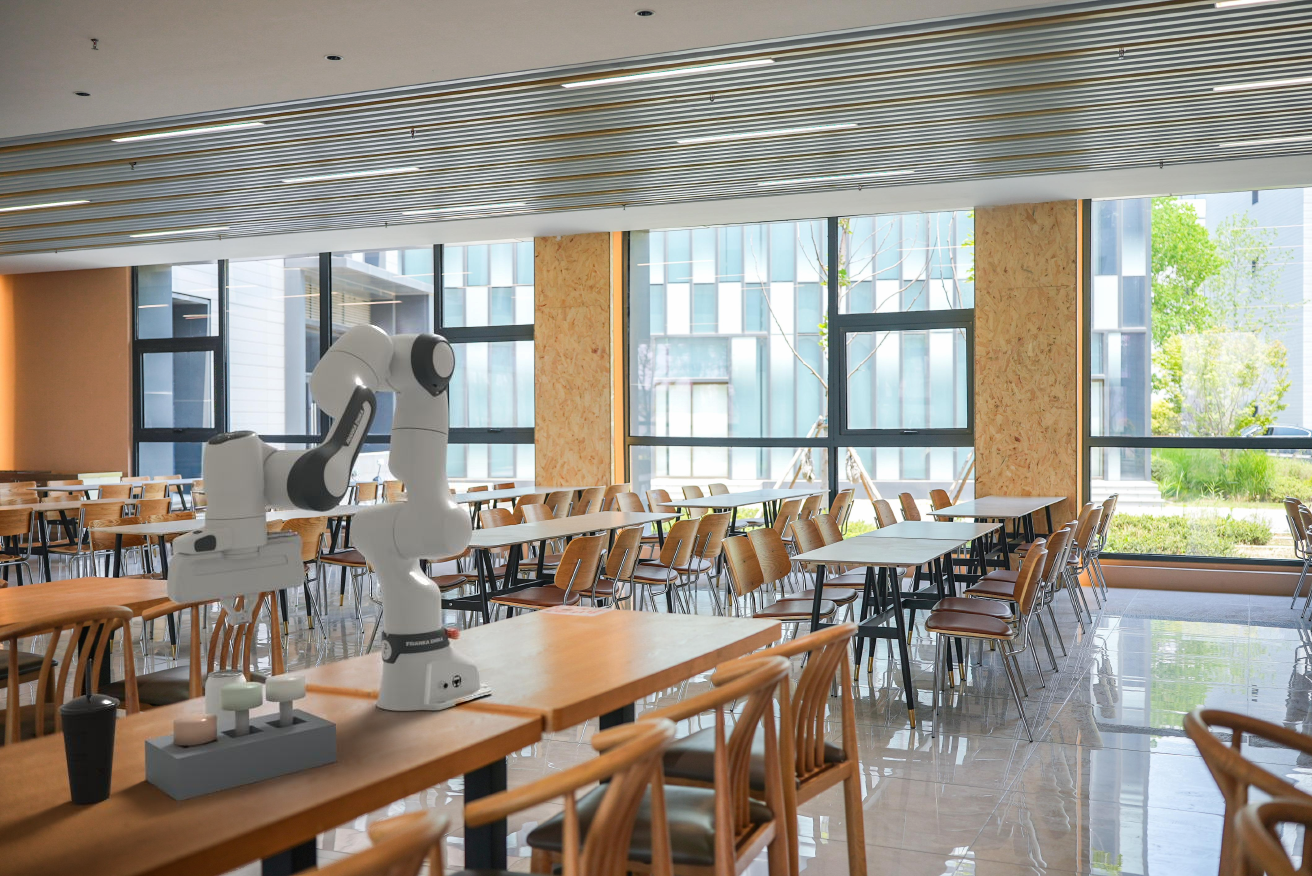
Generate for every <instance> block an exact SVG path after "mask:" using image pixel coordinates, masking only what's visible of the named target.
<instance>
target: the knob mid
mask: <svg viewBox="0 0 1312 876" xmlns="http://www.w3.org/2000/svg"><path fill="white" fill-rule="evenodd" d="M263 698H264V697H263V683H262V682H259V681H246V682H242V683H234V684H229V685H226V686H223V687H221V709H222V710H226V711H235V733H236V737H240V736H245V735H249V718H250V710H251V709H255V708H259V707H261V706H262V705H263V704H264V702H263Z"/></svg>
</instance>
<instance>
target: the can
mask: <svg viewBox="0 0 1312 876" xmlns="http://www.w3.org/2000/svg"><path fill="white" fill-rule="evenodd" d="M242 682H247V679H246V677H245V675H244V670H243V669H239V668H238V669H237V668H235V669H234V668H231V669H221V670H216V671H211V672H209V673H208V674H207V680H206V682H205V685H204V686H205V687H204V691H205V692H204V694H205V695H204V698H205V699H204V700H205V701H204V703H205V704H204V705H205V706H204V707H205V709H204V710H205V714H212V715H216V716H217V725H220V724H225V723H230V722H235V711H226V710H222V709H221V687H223V686H226V685H229V684H234V683H242Z"/></svg>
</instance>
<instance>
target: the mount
mask: <svg viewBox="0 0 1312 876" xmlns="http://www.w3.org/2000/svg"><path fill="white" fill-rule="evenodd" d="M337 749H338V748H337V723H335V722H333V721H330V720H328V719H325V718H323V717H320V716H317V715H314V714H313V713H309V712H307V711H304V710H301V709H299V708H295V709H294V708H293V725H291V726H287V727H282V728H280V712H276V713H269V714H266V715H265V714H264V715H259V716H256V717H249V735H245V736H240V737H236V733H235V722H230V723H225V724H220V725H217V738H216V739H214V740H212V741H210V742H206V743H203V745H199V746H194V747H189V748H188V745H177V744H174V737H173V734H168V735H161V736H157V737H153V738H148V739H144V755H145V756H144V762H145V763H144V765H145V766H144V770H145V772H144V774H145V776H144V777H145V780H146V781H147V780H148V781H147V782H149V783H150V782H151V783H150V784H152V785H153V784H154V785H153V786H154V787H156V786H157V787H156V788H158V789H159V790H161V791H162V792H164V793H165V794H166V795H168V796H170V797H171V798H173V800H175V801H177V802H180V801H184V800H187V799H188V800H189V799H193V798H195V797H201V796H204V794H205V795H208V793H209V794H212V793H211V792H213V793H216V792H215V791H217V792H219V791H218V790H221V791H224V789H225V790H229V789H232V788H236V787H242V786H244V785H248V784H252V783H255V782H256V783H257V782H261V781H264V780H269V779H272V778H277V777H280V776H285V775H289V774H293V773H297V772H300V771H305V770H309V769H313V768H317V767H320V765H321V766H324V765H323V764H325V765H329V764H332V762H333V763H337V762H336V761H338V754H337V753H338V752H337V751H338V750H337ZM328 763H329V764H328ZM316 766H317V767H316ZM312 767H313V768H312ZM200 795H201V796H200Z"/></svg>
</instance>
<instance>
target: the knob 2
mask: <svg viewBox="0 0 1312 876" xmlns="http://www.w3.org/2000/svg"><path fill="white" fill-rule="evenodd" d="M264 682H265V701H267V702H269V703H270V702H271V703H279V704H278V706H279V707H278V708H279V710H278V711H279V712H280V728H282V727H287V726H291V725H293V710H294V708H293V707H294V705H293V704H294V703H293V702H294V701H298V700H301V699H304V698H305V697H306V696H307V695H306V690H307V689H306V675H304V674H299V673H296V674H295V673H292V674H281V675H275V676H272V677H271V676H270V677H268V678H266V679H265V681H264ZM279 712H278V713H279Z"/></svg>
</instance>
